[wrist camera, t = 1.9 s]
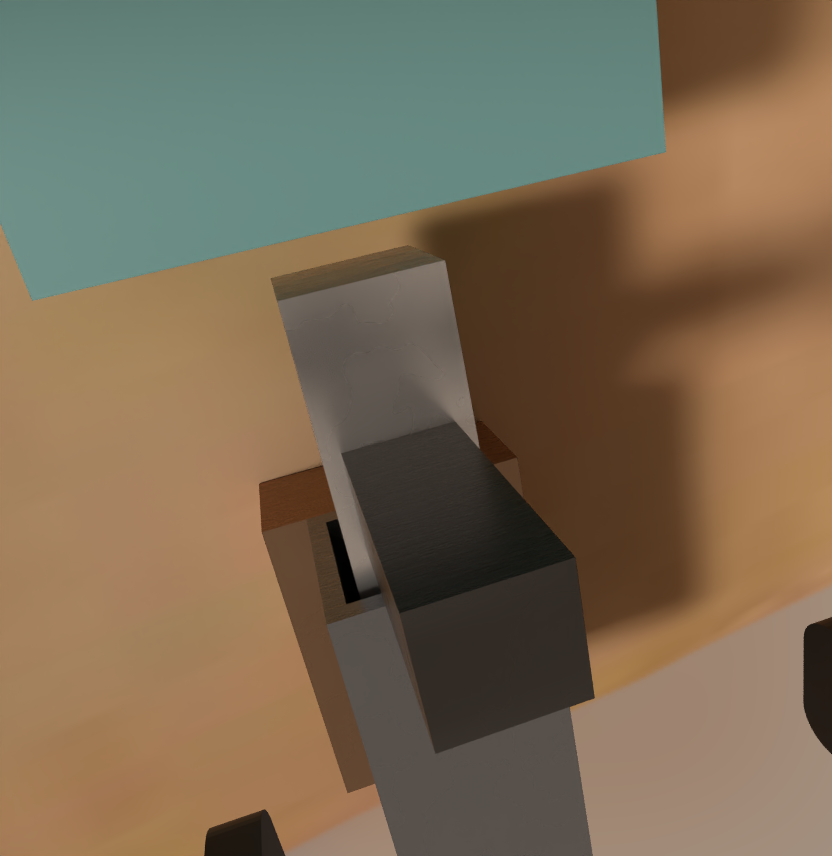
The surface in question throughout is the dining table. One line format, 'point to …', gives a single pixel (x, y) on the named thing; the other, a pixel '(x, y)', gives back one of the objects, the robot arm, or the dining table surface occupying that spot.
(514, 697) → the grey angled block
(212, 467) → the dining table surface
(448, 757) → the sleeve
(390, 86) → the teal flat panel
